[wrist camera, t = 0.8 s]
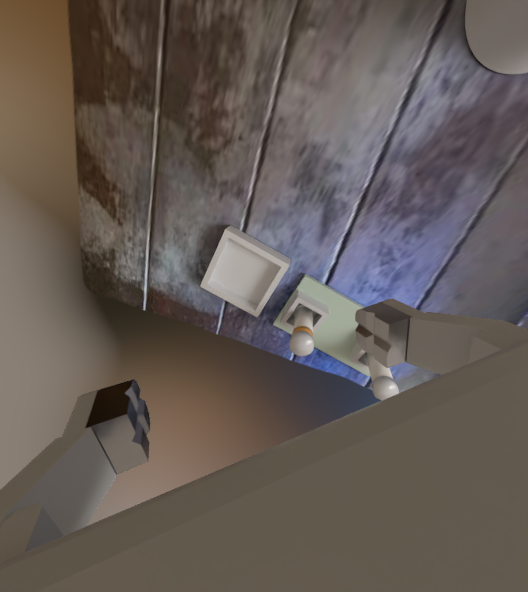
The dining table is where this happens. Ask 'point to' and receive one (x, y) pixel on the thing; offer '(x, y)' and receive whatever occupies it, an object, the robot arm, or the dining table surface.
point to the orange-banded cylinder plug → (302, 331)
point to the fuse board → (327, 321)
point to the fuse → (381, 379)
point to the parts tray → (244, 271)
